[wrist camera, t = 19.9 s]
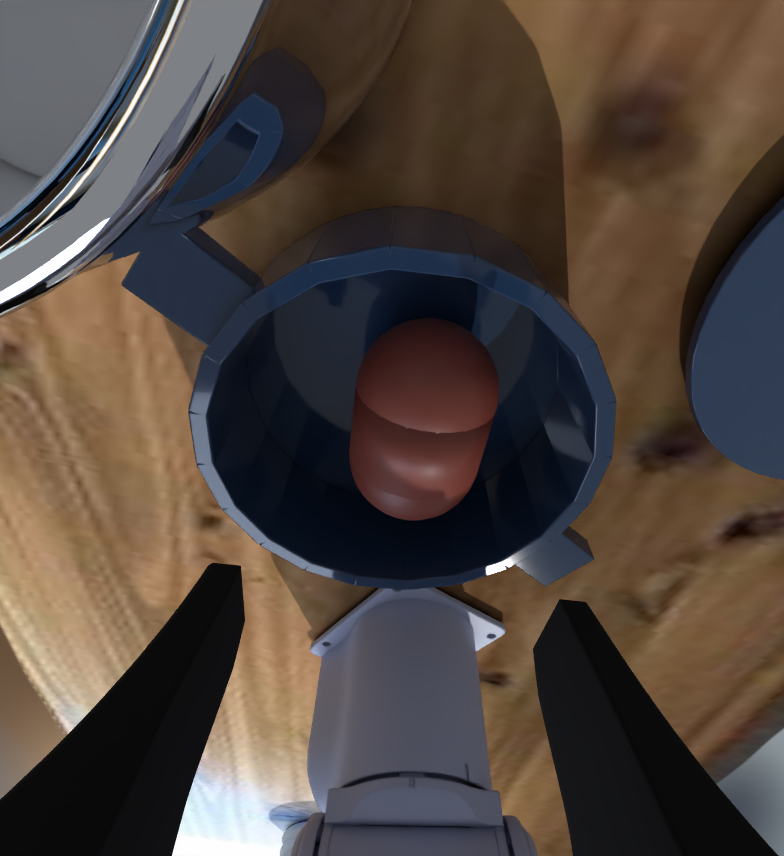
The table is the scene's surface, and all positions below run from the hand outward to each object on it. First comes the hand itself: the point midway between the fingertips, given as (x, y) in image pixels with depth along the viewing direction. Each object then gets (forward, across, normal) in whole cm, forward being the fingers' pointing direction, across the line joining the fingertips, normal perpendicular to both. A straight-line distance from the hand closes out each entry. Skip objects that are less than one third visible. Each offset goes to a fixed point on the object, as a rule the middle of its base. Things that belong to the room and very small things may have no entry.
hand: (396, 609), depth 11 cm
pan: (+10, 0, 0) cm, 10 cm away
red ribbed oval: (+10, 0, 0) cm, 10 cm away
